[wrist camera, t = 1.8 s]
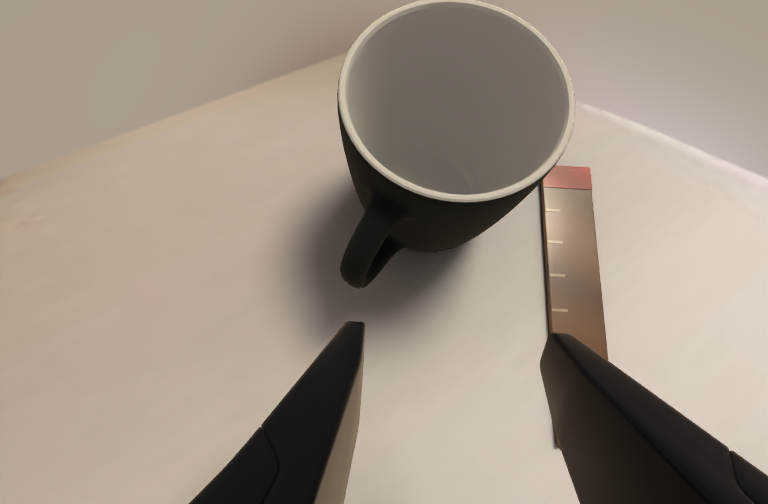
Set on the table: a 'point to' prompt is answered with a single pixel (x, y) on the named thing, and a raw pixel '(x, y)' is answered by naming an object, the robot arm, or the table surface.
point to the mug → (446, 126)
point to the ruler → (572, 257)
